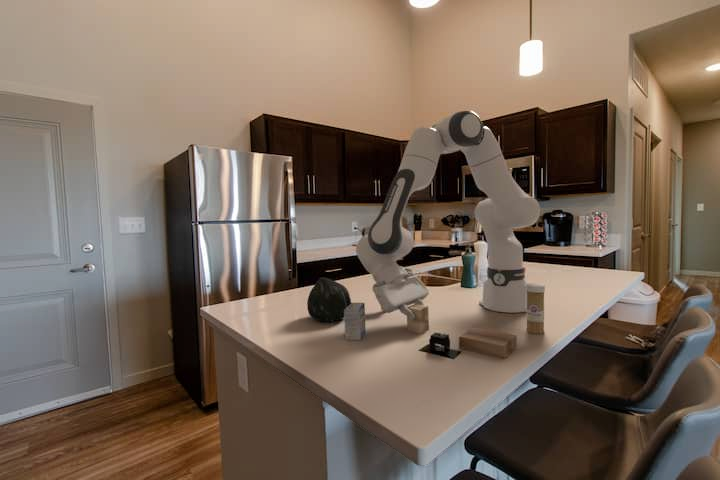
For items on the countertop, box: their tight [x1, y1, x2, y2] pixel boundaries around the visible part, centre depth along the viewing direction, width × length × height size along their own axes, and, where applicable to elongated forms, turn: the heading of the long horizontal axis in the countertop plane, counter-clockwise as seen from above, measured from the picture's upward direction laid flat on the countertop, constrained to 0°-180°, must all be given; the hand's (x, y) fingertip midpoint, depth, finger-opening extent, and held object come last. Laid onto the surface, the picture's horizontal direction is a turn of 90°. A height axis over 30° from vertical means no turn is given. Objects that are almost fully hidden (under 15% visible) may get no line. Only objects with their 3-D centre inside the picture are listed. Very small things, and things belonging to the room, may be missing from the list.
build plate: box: [418, 332, 464, 360], centre depth 86 cm, size 12×7×5 cm, turn 52°
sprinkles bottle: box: [525, 282, 546, 335], centre depth 97 cm, size 5×5×14 cm
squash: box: [306, 277, 352, 323], centre depth 116 cm, size 14×15×15 cm
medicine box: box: [343, 302, 367, 341], centre depth 99 cm, size 8×4×9 cm, turn 168°
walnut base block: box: [458, 326, 518, 360], centre depth 87 cm, size 9×11×3 cm
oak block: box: [406, 303, 430, 335], centre depth 102 cm, size 4×4×7 cm
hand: (419, 315), depth 101 cm, fingers closed on oak block, 4 cm apart
